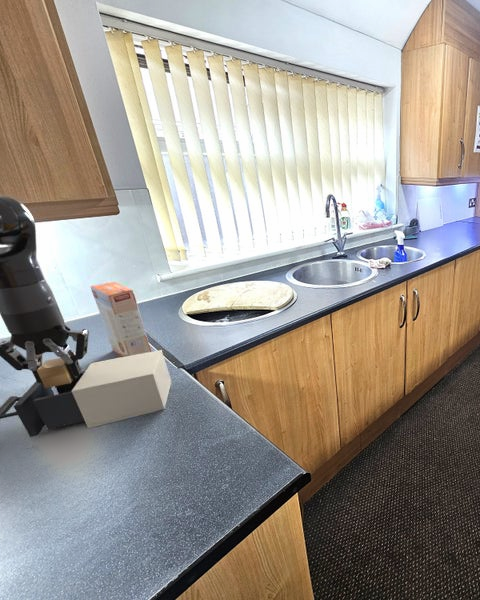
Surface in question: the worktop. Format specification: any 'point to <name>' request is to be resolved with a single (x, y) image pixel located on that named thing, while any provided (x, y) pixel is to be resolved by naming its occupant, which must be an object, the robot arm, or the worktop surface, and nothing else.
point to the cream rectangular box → (123, 388)
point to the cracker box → (121, 319)
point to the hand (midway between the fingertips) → (61, 379)
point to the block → (54, 373)
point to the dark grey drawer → (45, 407)
